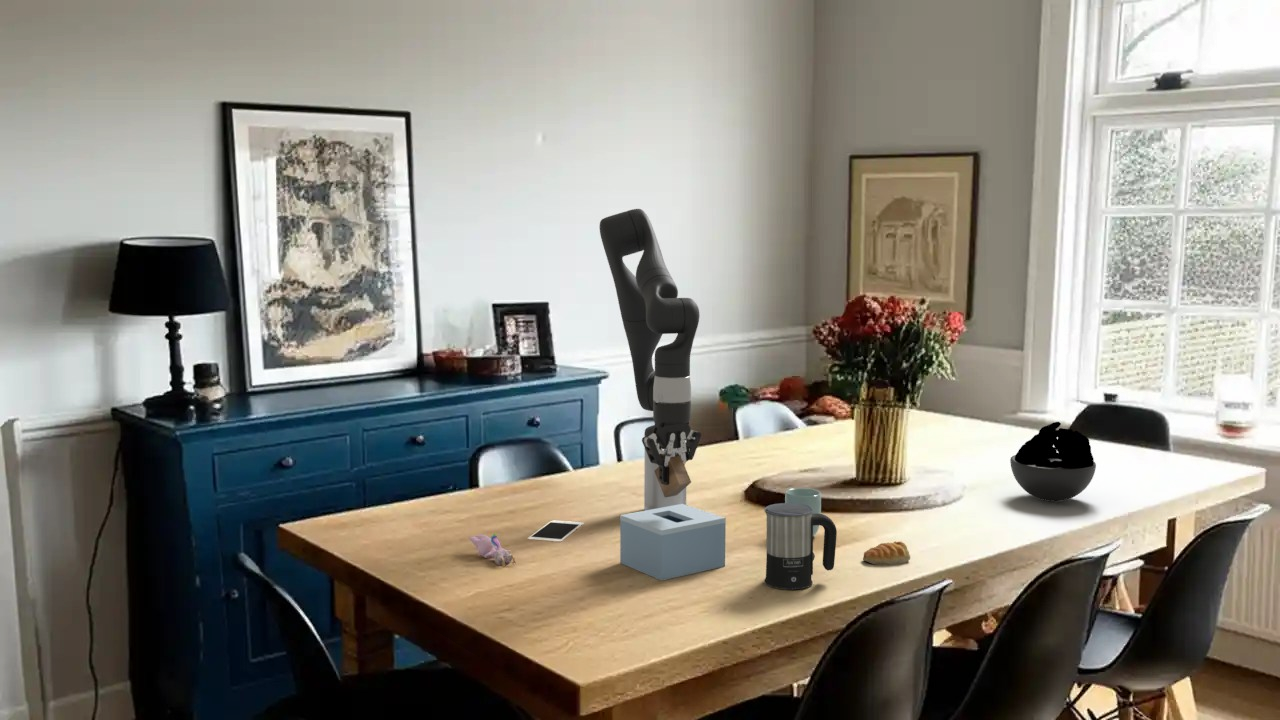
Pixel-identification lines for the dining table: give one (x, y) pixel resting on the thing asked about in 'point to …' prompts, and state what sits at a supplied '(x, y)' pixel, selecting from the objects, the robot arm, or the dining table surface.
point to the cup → (805, 500)
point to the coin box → (672, 541)
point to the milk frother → (795, 545)
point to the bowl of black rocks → (1054, 464)
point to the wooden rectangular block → (675, 477)
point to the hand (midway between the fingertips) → (671, 482)
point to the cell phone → (555, 531)
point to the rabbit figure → (492, 549)
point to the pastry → (887, 554)
